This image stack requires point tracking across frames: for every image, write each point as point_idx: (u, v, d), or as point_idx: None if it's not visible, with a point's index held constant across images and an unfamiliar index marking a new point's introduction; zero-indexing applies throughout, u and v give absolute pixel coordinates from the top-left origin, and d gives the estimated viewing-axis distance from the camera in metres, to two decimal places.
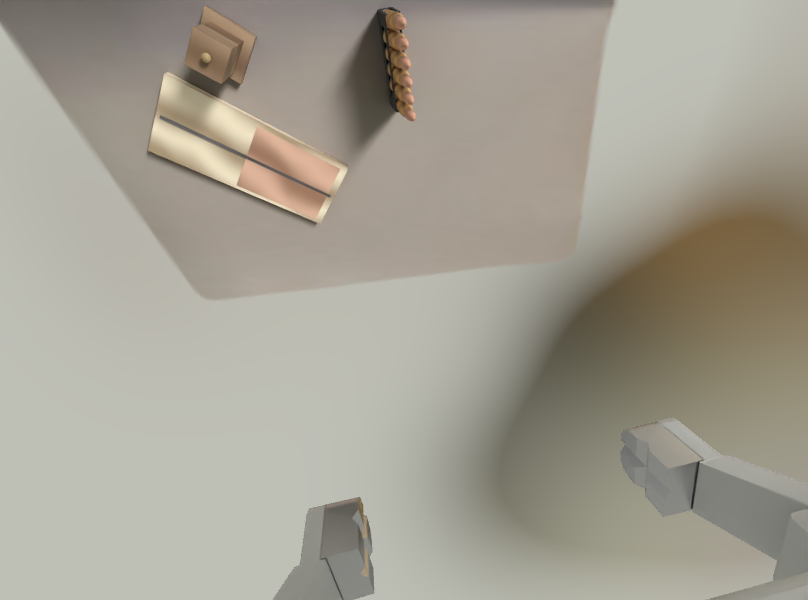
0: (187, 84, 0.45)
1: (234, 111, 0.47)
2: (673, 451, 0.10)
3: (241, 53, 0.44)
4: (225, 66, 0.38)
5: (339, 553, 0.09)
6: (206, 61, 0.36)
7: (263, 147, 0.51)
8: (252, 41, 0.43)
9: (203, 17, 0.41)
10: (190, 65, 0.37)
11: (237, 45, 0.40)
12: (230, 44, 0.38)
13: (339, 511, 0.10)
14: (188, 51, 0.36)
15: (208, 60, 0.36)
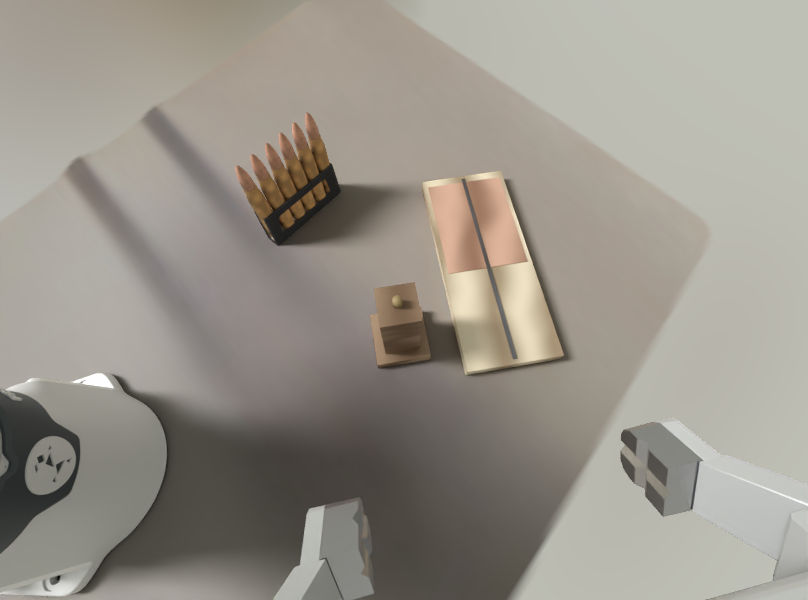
0: (461, 351, 0.38)
1: (451, 299, 0.40)
2: (673, 450, 0.10)
3: None
4: (394, 286, 0.31)
5: (339, 553, 0.09)
6: (399, 297, 0.30)
7: (464, 258, 0.42)
8: (375, 315, 0.39)
9: (387, 361, 0.37)
10: (418, 315, 0.30)
11: None
12: None
13: (338, 511, 0.10)
14: (406, 322, 0.30)
15: (397, 296, 0.30)
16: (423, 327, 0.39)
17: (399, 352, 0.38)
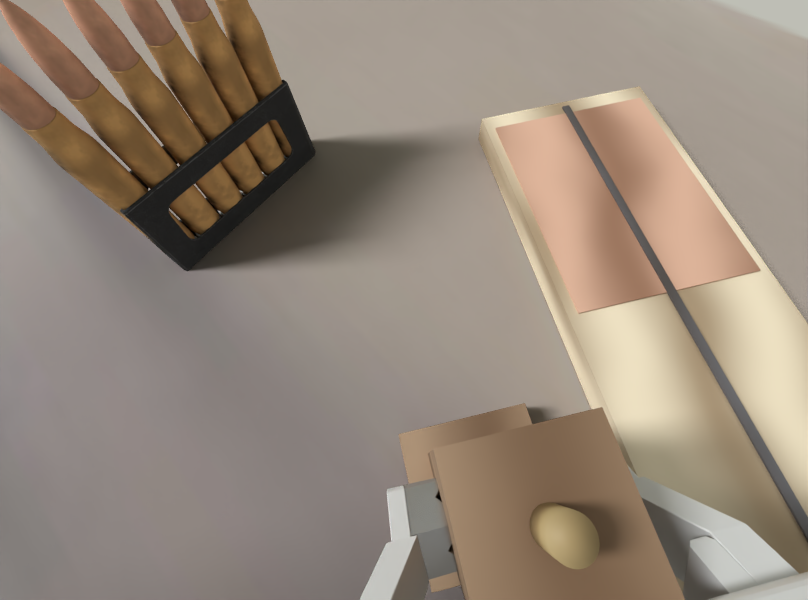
0: None
1: (598, 379, 0.16)
2: None
3: (458, 442, 0.15)
4: (518, 432, 0.07)
5: (429, 530, 0.09)
6: (583, 524, 0.06)
7: (608, 273, 0.18)
8: (412, 435, 0.15)
9: (459, 580, 0.13)
10: (667, 588, 0.06)
11: None
12: (435, 469, 0.09)
13: (418, 491, 0.10)
14: None
15: (568, 517, 0.06)
16: None
17: None
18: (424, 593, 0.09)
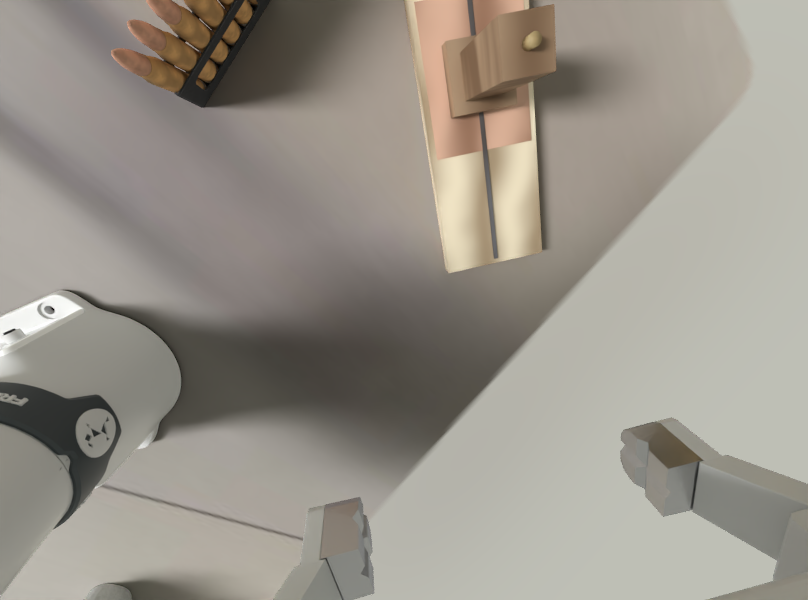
0: (444, 249, 0.38)
1: (438, 194, 0.35)
2: (673, 451, 0.10)
3: None
4: (525, 11, 0.22)
5: (339, 553, 0.09)
6: (539, 35, 0.22)
7: (457, 137, 0.33)
8: (452, 42, 0.29)
9: (467, 112, 0.31)
10: (552, 62, 0.23)
11: (477, 35, 0.25)
12: (486, 34, 0.24)
13: (339, 511, 0.10)
14: (536, 72, 0.23)
15: (536, 33, 0.22)
16: None
17: (481, 99, 0.31)
18: None
